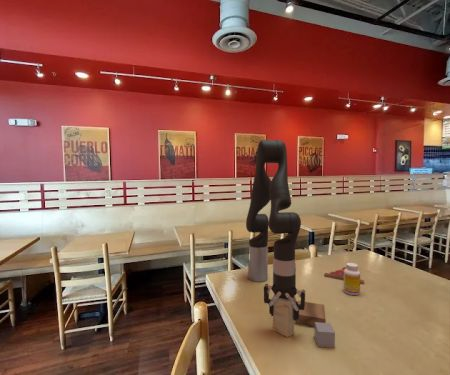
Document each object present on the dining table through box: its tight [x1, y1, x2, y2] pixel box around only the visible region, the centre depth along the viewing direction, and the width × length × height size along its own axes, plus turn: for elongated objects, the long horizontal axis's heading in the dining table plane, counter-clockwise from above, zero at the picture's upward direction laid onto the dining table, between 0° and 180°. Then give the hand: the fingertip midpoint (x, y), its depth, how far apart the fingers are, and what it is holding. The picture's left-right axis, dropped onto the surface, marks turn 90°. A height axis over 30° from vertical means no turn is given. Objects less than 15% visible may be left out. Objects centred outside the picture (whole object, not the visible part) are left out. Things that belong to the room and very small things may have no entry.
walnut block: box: [295, 300, 326, 328], centre depth 96 cm, size 10×10×4 cm
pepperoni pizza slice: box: [323, 266, 365, 285], centre depth 137 cm, size 18×2×20 cm
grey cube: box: [314, 322, 336, 348], centre depth 83 cm, size 5×5×5 cm
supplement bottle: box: [343, 262, 361, 296], centre depth 115 cm, size 7×7×13 cm
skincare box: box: [272, 297, 296, 338], centre depth 88 cm, size 6×4×12 cm
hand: (284, 317), depth 88 cm, fingers closed on skincare box, 7 cm apart
